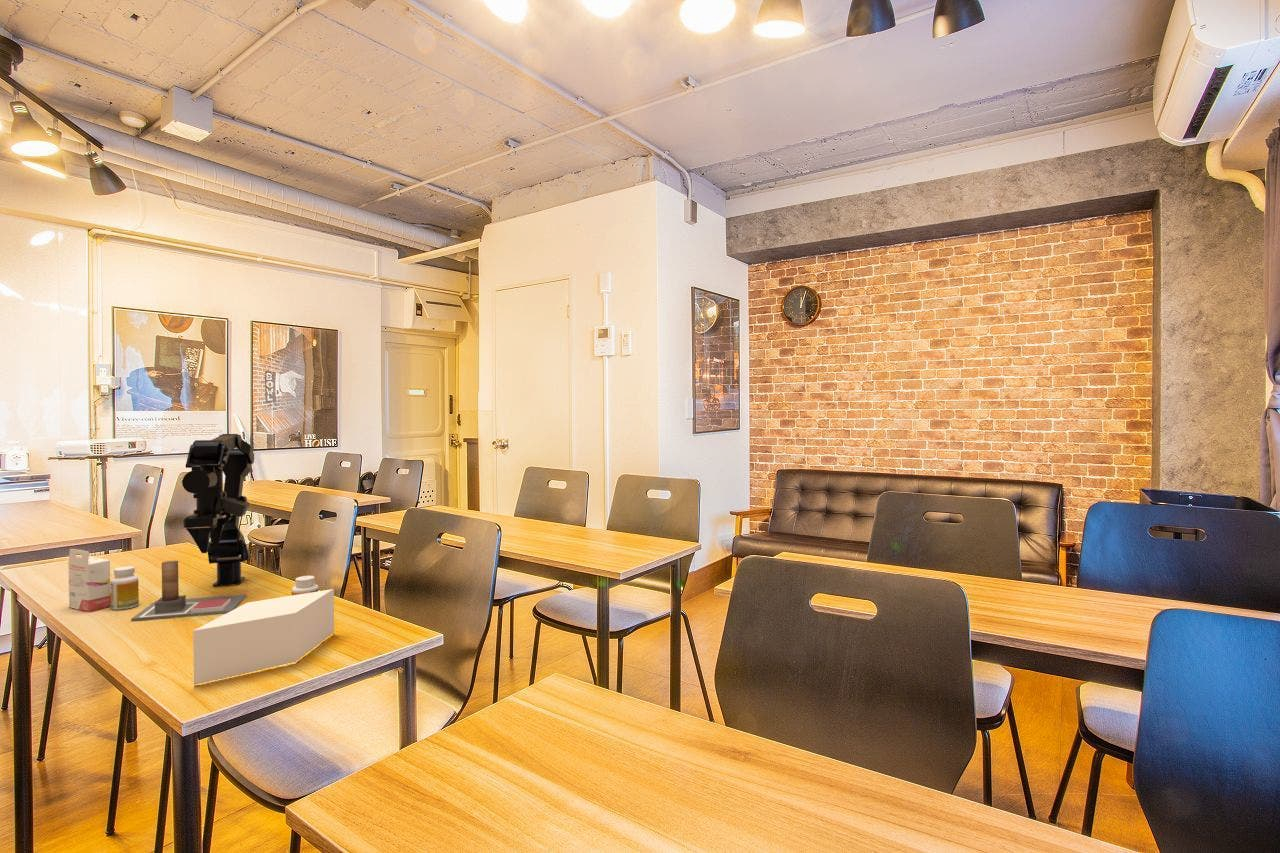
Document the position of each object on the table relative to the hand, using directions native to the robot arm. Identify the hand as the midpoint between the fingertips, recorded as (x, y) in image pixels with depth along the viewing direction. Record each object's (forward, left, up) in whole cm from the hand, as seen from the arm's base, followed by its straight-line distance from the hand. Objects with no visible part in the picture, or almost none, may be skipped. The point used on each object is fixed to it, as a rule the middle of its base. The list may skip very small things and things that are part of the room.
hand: (210, 549), depth 163 cm
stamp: (+9, -6, -12) cm, 16 cm away
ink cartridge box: (-1, -26, -13) cm, 29 cm away
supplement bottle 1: (+1, -18, -13) cm, 22 cm away
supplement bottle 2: (+26, +26, -13) cm, 39 cm away
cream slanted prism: (+48, +23, -13) cm, 55 cm away
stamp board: (+7, -2, -13) cm, 15 cm away
